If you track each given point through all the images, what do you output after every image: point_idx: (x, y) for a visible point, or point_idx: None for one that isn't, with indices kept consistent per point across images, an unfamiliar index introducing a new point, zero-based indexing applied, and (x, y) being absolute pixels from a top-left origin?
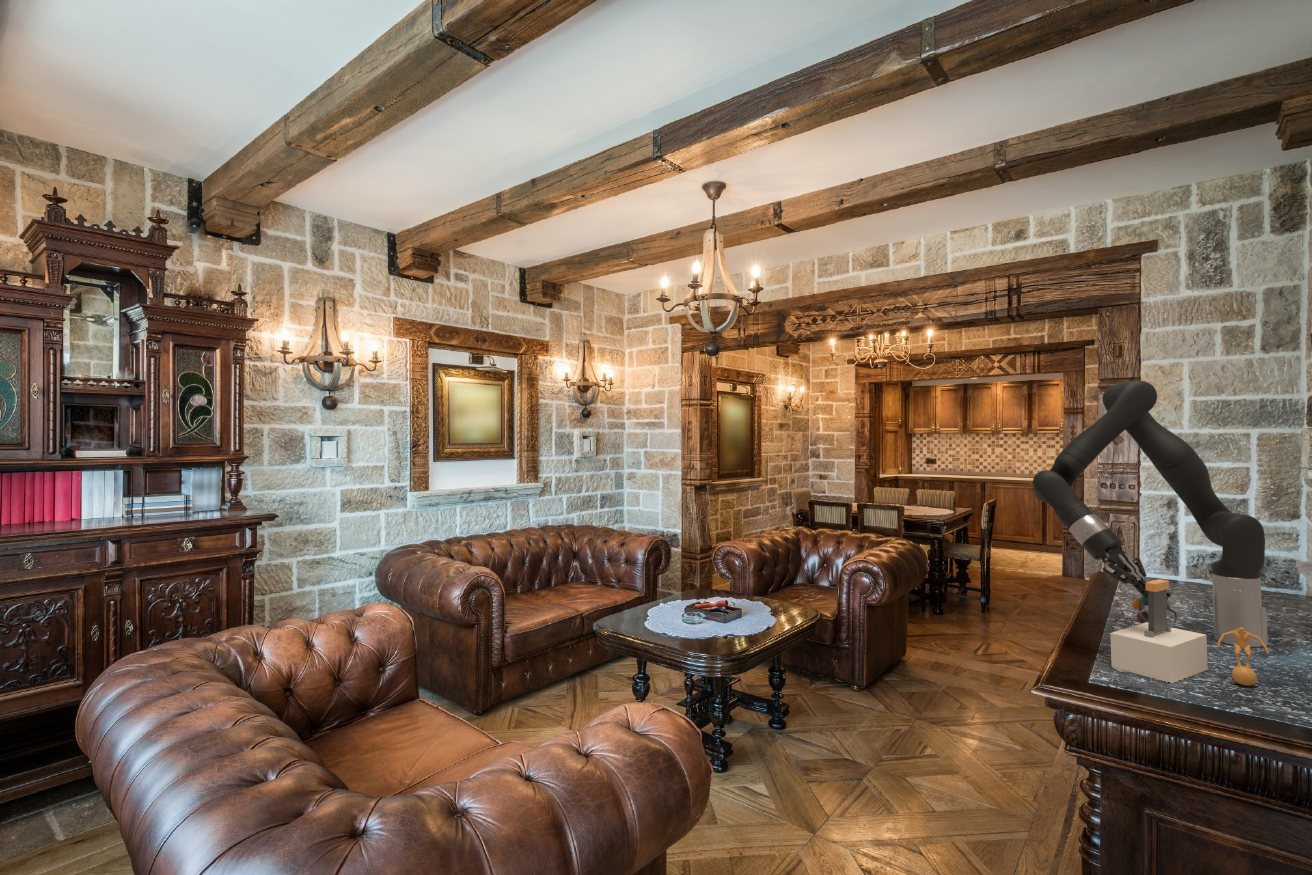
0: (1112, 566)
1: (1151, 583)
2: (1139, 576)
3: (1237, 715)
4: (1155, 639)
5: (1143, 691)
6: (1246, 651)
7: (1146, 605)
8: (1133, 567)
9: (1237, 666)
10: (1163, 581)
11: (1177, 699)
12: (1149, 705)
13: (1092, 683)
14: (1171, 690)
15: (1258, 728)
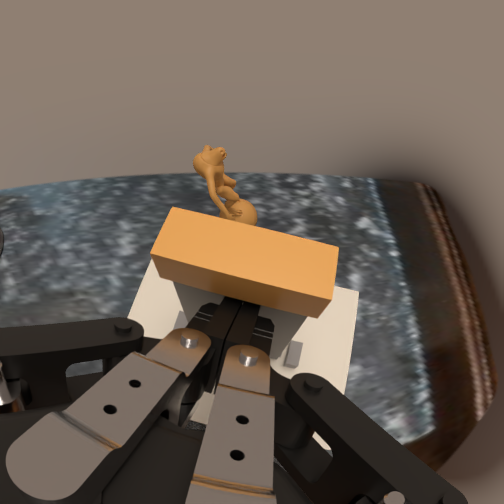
0: (453, 492)
1: (335, 268)
2: (205, 355)
3: (400, 230)
4: (312, 336)
5: (411, 348)
6: (231, 181)
7: None
8: (173, 392)
9: (240, 215)
10: (212, 225)
11: (405, 299)
12: (458, 322)
13: (433, 422)
14: (370, 316)
15: (421, 212)
